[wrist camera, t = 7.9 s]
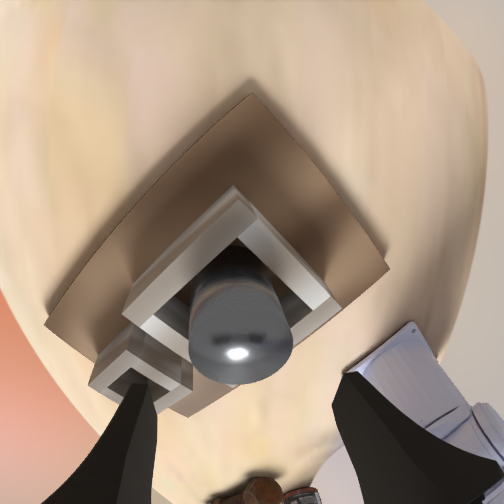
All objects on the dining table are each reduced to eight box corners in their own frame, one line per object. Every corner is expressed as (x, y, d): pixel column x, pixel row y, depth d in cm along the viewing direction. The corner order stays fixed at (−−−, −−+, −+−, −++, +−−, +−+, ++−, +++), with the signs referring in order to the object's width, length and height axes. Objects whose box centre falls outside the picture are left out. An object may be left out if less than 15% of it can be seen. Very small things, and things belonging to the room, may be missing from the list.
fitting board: (383, 262, 20) (413, 291, 16) (187, 408, 24) (187, 446, 20) (249, 94, 14) (262, 85, 11) (48, 316, 18) (27, 352, 14)
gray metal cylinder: (281, 282, 18) (311, 349, 13) (225, 322, 19) (234, 396, 13) (235, 229, 16) (250, 287, 11) (176, 277, 17) (166, 348, 12)
